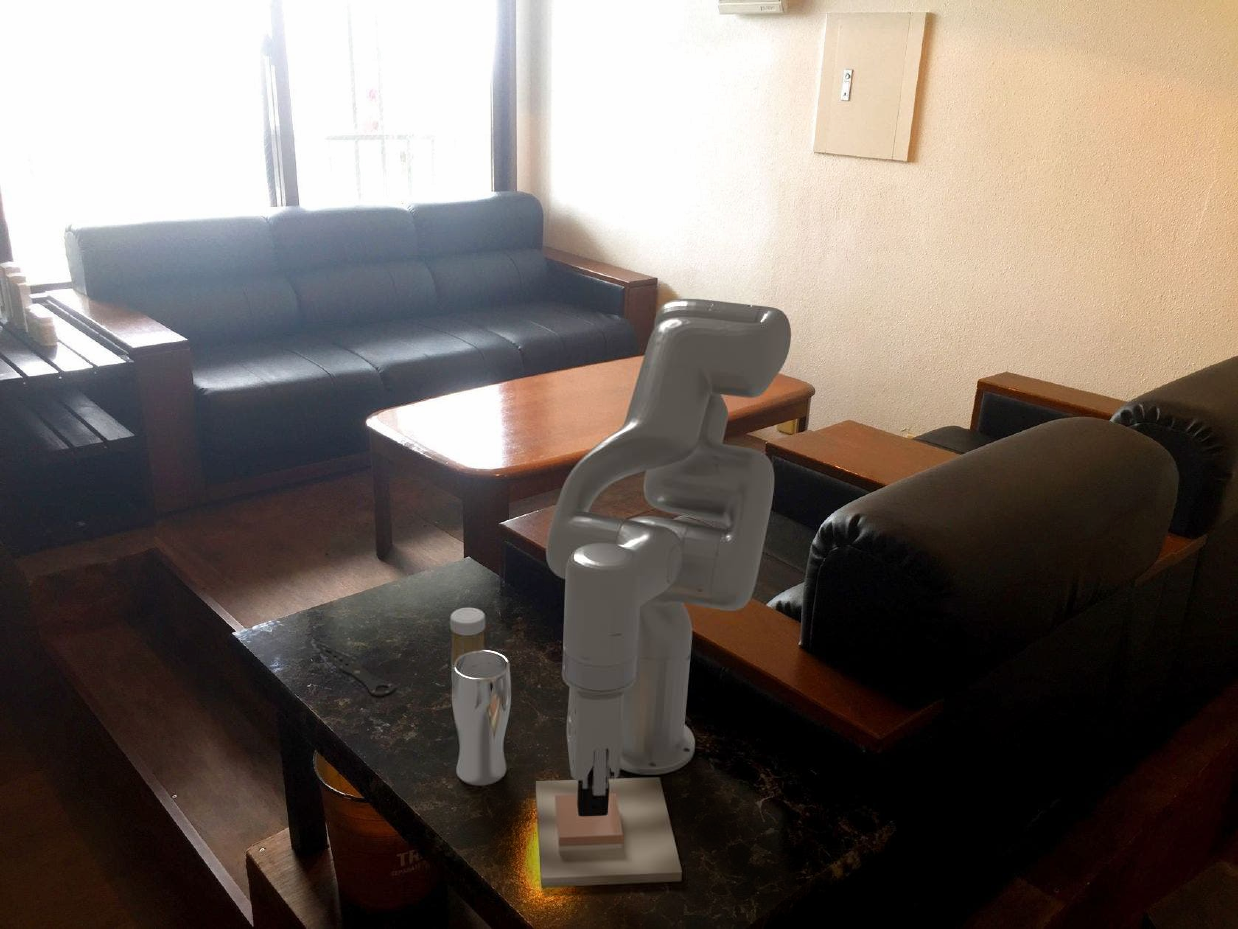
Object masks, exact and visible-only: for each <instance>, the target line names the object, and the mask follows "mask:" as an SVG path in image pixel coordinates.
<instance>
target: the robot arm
mask: <svg viewBox="0 0 1238 929" xmlns="http://www.w3.org/2000/svg"><path fill="white" fill-rule="evenodd" d="M791 328H792V327H791V324H790V321H789V318H788V316H787V314H786V313H785V312H784V311H783V310H781V309H779V308H777V307H771V306H763V305H756V304H746V303H737V302H729V301H721V300H713V299H712V300H710V299H701V298H681V299H674V300H671V301H668V302H666V303H664V304H662V306H660V308H659V309H658V311H657V313H656V316H655V319H654V323H653V330H652V331H651V334H650V337H649V338H648V342H647V346H646V349H645V352H644V356H643V359H642V362H641V364H640V368H639V373H638V376H637V378H636V382H635V385H634V390H633V393H632V396H631V399H630V403H629V406H628V410H627V412H626V417H625V420H624V422H623V424H622V426H621V427H620V428H619V429H617V431H615V432H613V433H612V434H611V435H609V436H607V437H605V438H604V439H603V440H601V441H600V442H598V443H597V444H596V445H595V446H593V447H592V448H591V449H590V450H589V451H588V452H587V453H586V454H585V455H584V456H583V457H582V458H581V459H580V460H579V461H578V462H577V463H576V464H575V466H574V467H573V468H572V470H571V471H570V473H569V474H568V476H567V477H566V479H565V482H564V484H563V485H562V489H561V491H560V494H559V497H558V500H557V503H556V507H555V509H554V513H553V516H552V520H551V523H550V526H549V530H548V535H547V538H546V547H545V556H546V558H545V559H546V562H547V565H548V567H549V569H550V570H551V572H552V573H554V574H555V576H558V577H559V578H561V579H563V580H565V585H564V610H563V611H564V614H563V616H564V617H563V620H564V621H563V640H562V643H563V644H562V647H563V648H562V669H561V675H562V676H561V677H562V680H563V682H564V683H565V684H566V686H567V687H569V691H568V692H569V693H568V703H567V704H568V707H567V717H566V719H567V720H566V741H567V742H566V743H567V751H568V760H569V768H570V775H571V778H572V779H573V780H576V781H578V795H577V807H578V815H579V816H581V817H584V816H605V815H607V814H608V803H609V779H610V778H612V779H613V780H614V779H618V776H619V775H620V770H622V771H625V772H628V773H632V774H637V775H645V776H648V775H649V776H655V775H657V776H658V775H664V774H668V773H672V772H674V771H677V770H680V769H681V768H682V767H684V766H685V765H687V764H688V763H689V762H690V761H691V760H692V758H693V756H694V754H695V748H696V739H695V737H694V733H693V732H692V730H691V729H690V728H689V727H688V726H687V724H685V722H686V710H687V700H688V690H689V689H688V687H689V686H688V685H689V678H690V677H689V676H690V675H689V674H690V663H691V652H692V644H693V643H692V640H693V627H692V621H691V617H690V615H689V613H688V611H687V608H686V606H685V605H684V604H689V605H694V606H700V607H703V608H704V607H705V608H710V609H715V610H722V611H738V610H740V609H743V608H744V607H746V605H747V604H748V603H749V601H750V600H751V598H752V595H753V593H754V590H755V588H756V583H757V579H758V578H757V577H758V573H759V569H760V564H761V559H762V554H763V548H764V545H765V539H766V534H767V529H768V525H769V524H768V523H769V519H770V514H771V509H772V505H773V504H772V503H773V496H774V489H775V472H774V466H773V464H772V461H771V459H769V457H768V456H767V455H766V454H765V453H764V452H762V451H760V450H758V449H754V448H750V447H746V446H745V447H743V446H739V445H731V444H726V443H723V442H724V438H725V435H726V434H725V433H726V429H727V425H728V422H729V421H728V420H729V410H728V407H727V405H726V402H725V400H724V398H723V396H730V397H738V398H747V399H755V398H759V397H760V396H762V395H764V393H766V391H767V390H768V388H770V386H771V384H772V383H773V381H774V380H775V378H776V377H777V375H778V374H779V373H780V371H781V370H782V368H783V367H784V365H785V363H786V361H787V358H788V355H789V353H790V352H789V351H790V346H791V342H792V341H791V340H792V330H791ZM722 395H723V396H722ZM642 472H645V474H644V480H643V493H644V497H645V500H646V501H647V503H648V504H649V505H650V506H651V507H653V508H655V509H658V510H659V511H662V512H665V513H670V514H674V515H678V516H679V515H680V516H684V517H689V518H696V519H702V520H706V521H713V522H719V523H723V524H725V525H726V526H727V528H724V527H719V526H713V525H712V526H711V525H708V524H707V525H706V524H701V523H696V522H695V523H694V522H691V521H686V520H679V519H674V518H673V519H672V518H670V517H669V518H668V517H663V516H662V517H661V516H655V515H654V516H653V515H651V516H649V515H648V516H647V515H643V516H637V517H636V516H635V517H633V518H624V517H618V516H613V515H607V514H601V513H596V512H590V508H591V507H592V505H593V503H594V502H595V500H596V498H597V497H598V496H599V495H600V493H601V492H603V491H604V490H606V488H608V487H609V486H610V485H612V484H614V483H616V482H617V481H619V480H621V479H622V480H623V479H624V478H627V477H630V476H632V475H636V474H639V473H642Z"/></svg>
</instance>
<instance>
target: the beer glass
mask: <svg viewBox="0 0 1238 929" xmlns="http://www.w3.org/2000/svg"><path fill="white" fill-rule="evenodd" d="M510 666H511V663H510V661H509V659H508V658H507V657H506V656H505V655H504V654H501V653H500V652H497V651H493V650H486V649H484V650H479V651H472V652H468V653H465V654H463V655H461V656H460V657H459V658H457V659H456V661H455V663H454V674H453V685H452V684H451V697H452V702H451V703H453V704H452V711H453V717H454V723H455V727H456V731H457V736H458V741H459V742H458V743H459V754H458V760H457V764H456V770H455V772H456V775H457V777H458V778H459V779H460V780H461V781H462V782H463V783H465V784H468V785H472V786H479V787H480V786H481V787H482V786H489V785H492V784H495V783H496V782H498V781H500V780H502V778H504V777H505V774H506V772H507V763H506V758H505V754H504V752H505V751H504V740H505V734H506V732H507V731H506V730H507V725H508V720H509V718H510V717H509V716H510V712H511V711H510V710H511V703H512V701H511V700H512V699H511V698H512V683H511V682H512V680H511V672H510V671H511V668H510Z"/></svg>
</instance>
